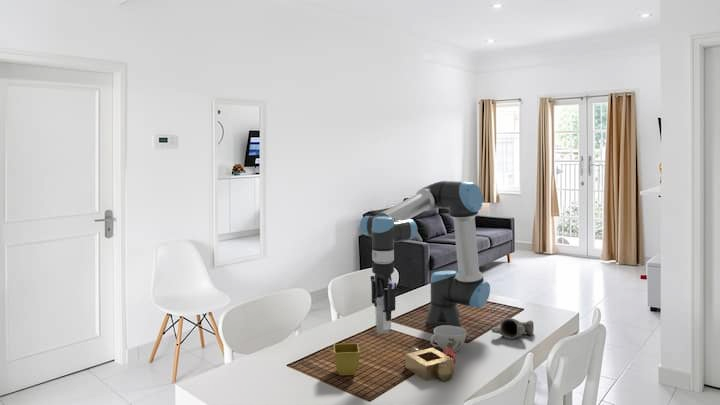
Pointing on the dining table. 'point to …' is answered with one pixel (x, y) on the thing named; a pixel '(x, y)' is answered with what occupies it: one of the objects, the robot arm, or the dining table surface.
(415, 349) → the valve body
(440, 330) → the teacup
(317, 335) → the dining table surface
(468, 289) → the robot arm
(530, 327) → the grey hollow piece
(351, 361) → the flower pot
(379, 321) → the white capped shaker
